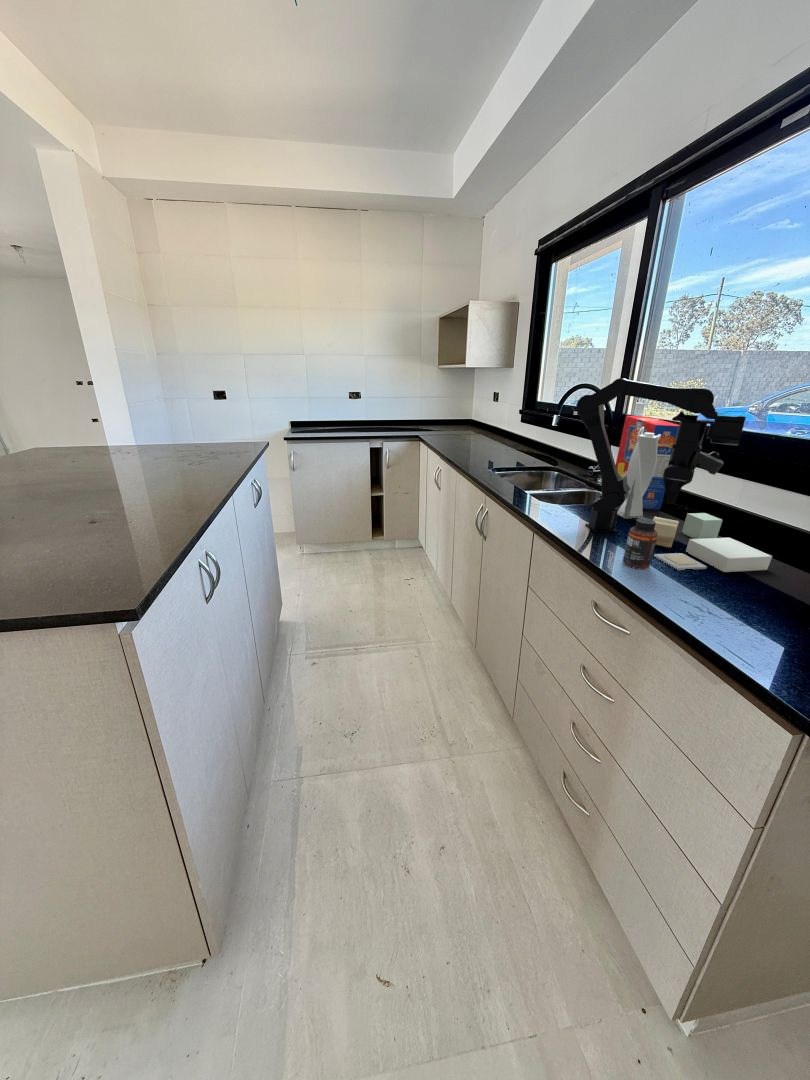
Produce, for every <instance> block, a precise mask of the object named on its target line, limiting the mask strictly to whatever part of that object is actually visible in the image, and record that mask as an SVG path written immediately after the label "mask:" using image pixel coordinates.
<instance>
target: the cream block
mask: <svg viewBox="0 0 810 1080" xmlns="http://www.w3.org/2000/svg"><path fill="white" fill-rule="evenodd" d="M686 546H687V547H686V549H685V553H687V552H688V553H687V554H689V555H691V556H692V557H695V558H696V559H699V560H700V561H702V562H704V563H707V564H708V565H710V566H712V567H713V566H714V567H713V568H715V569H717V570H719V571H721V572H723V573H731V572H735V573H736V572H752V571H767V570H768V568H769V566H770V563H771V560H772V558H773V555H771V554H769V553H765V552H764V551H761V550H759V549H757V548H754V547H751V546H750V545H747V544H745V543H744V542H741V541H739V540H737V539H733V538H731V537H717V538H705V539H694V538H689V539H688V543H687V545H686Z"/></svg>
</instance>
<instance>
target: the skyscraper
mask: <svg viewBox="0 0 810 1080" xmlns="http://www.w3.org/2000/svg"><path fill="white" fill-rule="evenodd" d="M642 428H643V429H642ZM642 428H641V429H640V430H639V433H638V435H637V439H638V441H637V444H636V446H635V448H634V451H633V453H632V456H631V459H630V462H629V466H628V471H627V484H628V486H629V487H630V490H629V492H628V493H629V494H628V497H627V498H626V500H625V501H624V503H623V504H622V505H621V506H619V509H618V511H617V515H618V516H619V517H622V518H623V519H624V520H626V519H627V520H629V519H631V520H633V519H632V518H646V517H644V515H643V510H644V509H643V508H642V497H643V495H644V493H645V492H646V490H647V488H648V486H649V484H650V481H651V479H652V476H653V473H654V470H655V466H656V461H657V448H658V440H659V438H660V437H661V434H659V435H657V436H654V433H644V435H643V431H644V426H643V427H642ZM641 430H642V432H641ZM640 432H641V435H640Z"/></svg>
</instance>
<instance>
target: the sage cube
mask: <svg viewBox="0 0 810 1080" xmlns="http://www.w3.org/2000/svg"><path fill="white" fill-rule="evenodd" d="M722 523H723V519H722V518H719V517H716V516H714V515H711V514H709V513H706V512H698V513H697V512H696V513H695V512H693V513H688V512H687V513H686V517H685V520H684V523H683V527H682V530H681V533H682V532H683V533H682V534H684V535H686V536H688V537H690V538H691V539H705V538H718V535H719V533H720V529H721V526H722Z"/></svg>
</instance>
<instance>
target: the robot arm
mask: <svg viewBox="0 0 810 1080" xmlns="http://www.w3.org/2000/svg"><path fill="white" fill-rule="evenodd" d="M620 395H623V396H629V397H635V398H639V399H644V400H648V401H649V400H650V401H656V402H661V403H667V404H668V405H669V404H670V405H672V406H674V407H676V408H679V409H681V411H680V412H679V413H678V414H677V415H675V416H673V417H672V419H671V420H672V421H673V422H679V424H678V425H679V428H678V432H677V435H676V439H675V443H674V445H673V450H672V454H671V458H670V460H669V465H668V466H667V467H666V468H665V470H664V474H663V480H664V485H665V494H666V501H667V504H669V505H673V504H674V503H675V501H676V499H677V497H678V496H679V493H680V491H681V489H682V488H683V487H684V486H686V485H689V484H690V483H691V482H692V481H693V478H694V475H695V469H696V468H697V467H698V468H700V469H703V470H705V471H706V472H708V473H709V474H711V475H716V474H717V473H718V471H720V469H721V468H722V466H723V465H724V461H723V460H722V459H719V457H720V453H719V452H716V451H712V452H710V453H708V452H703V451H701V450H702V443H703V440H704V436H705V432H706V429H707V425H708V424H709V427H708V429H707V430H708V431H707V433H706V439H709V440H710V444H717V445H718V444H719V445H727V446H739V445H740V444H739V443H740V441H741V439H742V436H743V433H744V431H743V430H744V425H745V421H746V416H745V415H725V414H723V415H722V414H718V413H719V411H718V410H716V409H715V408H716V407H715V406H714V401H715V395H714V393H713V391H712V390H711V389H709V388H706V387H670V386H665V385H658V384H652V383H648V382H642V381H641V382H640V381H637V380H636V381H635V380H629V379H627V378H622V377H621V378H617V379H614V380H613V381H612V382H611V383H610V384H608V385H606V386H604V387H602V388H601V389H598V391H595V392H594V393H589V394H585V395H582V396H580V398H579V399H578V400H577V403H576V406H575V407H576V408H575V409H576V412H577V414H578V415H579V417H580V419H581V422H582V423H583V424H584V426H585V427H586V429H587V431H588V434H589V437H590V441H591V444H592V448H593V451H594V455H595V458H596V463H597V464H598V465H597V466H598V468H599V472H600V475H601V495H600V496H598V497H597V499H595V501H593V503H592V507H591V511H590V515H589V517H590V518H589V520H588V523H587V522H586V523H585V526H586V527H587V528H589V529H590V530H592V531H593V532H596V533H617V531H618V530H617V529H616V526H617V525H616V524H617V519H618V516H619V515H618V514H617V511H619V509H617V508H620V507H621V505H622V504H623V503H624V501H625V500H626V498H627V497H628V494H629V493H628V492H629V490H630V487H629V486H628V484H627V476H625V477H622V478H621V476H620V475H619V474H618V472H617V469H616V462H615V458H614V455H613V452H612V447H611V445H610V440H609V436H608V434H607V431H606V427H605V405H607V404H608V403H609V402H611V401H613V400H614V399H616V398H617V397H619V396H620ZM683 410H684V411H686V412H690V413H692V414H686V413H685V412H684V411H683ZM696 414H700V415H702V416H703V417H704V418H705V419H700V418H699V419H698V417H699V415H696Z"/></svg>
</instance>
